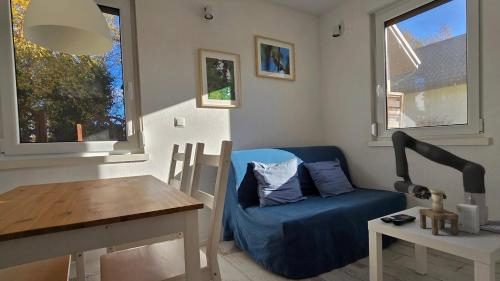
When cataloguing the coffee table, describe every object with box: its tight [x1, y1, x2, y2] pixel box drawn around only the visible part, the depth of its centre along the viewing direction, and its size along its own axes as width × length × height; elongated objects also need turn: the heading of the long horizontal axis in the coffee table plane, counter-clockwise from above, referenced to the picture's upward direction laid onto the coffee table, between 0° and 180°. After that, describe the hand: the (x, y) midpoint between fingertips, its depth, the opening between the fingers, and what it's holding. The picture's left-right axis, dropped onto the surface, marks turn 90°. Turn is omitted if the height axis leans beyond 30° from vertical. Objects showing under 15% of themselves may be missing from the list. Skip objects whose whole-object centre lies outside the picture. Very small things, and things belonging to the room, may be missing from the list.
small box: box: [455, 203, 480, 234], centre depth 137 cm, size 8×6×13 cm
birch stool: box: [429, 188, 445, 213], centre depth 138 cm, size 6×6×11 cm
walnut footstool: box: [418, 208, 459, 236], centre depth 138 cm, size 12×12×10 cm
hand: (437, 197), depth 138 cm, fingers open, 8 cm apart
